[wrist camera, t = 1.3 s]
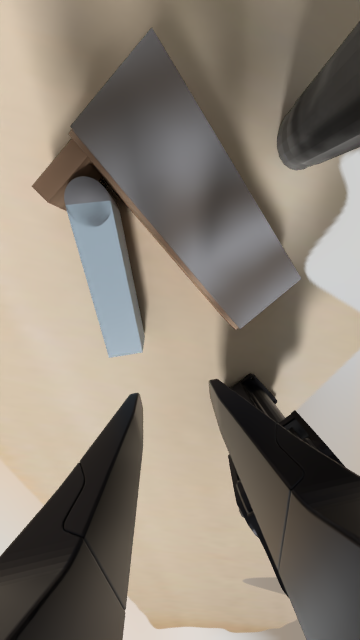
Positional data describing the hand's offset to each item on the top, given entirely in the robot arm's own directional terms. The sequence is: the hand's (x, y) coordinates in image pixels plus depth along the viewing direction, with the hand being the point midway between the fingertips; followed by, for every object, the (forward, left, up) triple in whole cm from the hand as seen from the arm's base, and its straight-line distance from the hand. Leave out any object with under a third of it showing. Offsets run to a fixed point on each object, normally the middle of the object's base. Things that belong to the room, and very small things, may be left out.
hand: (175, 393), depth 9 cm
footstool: (+4, -6, -12) cm, 14 cm away
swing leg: (+6, +1, -12) cm, 13 cm away
